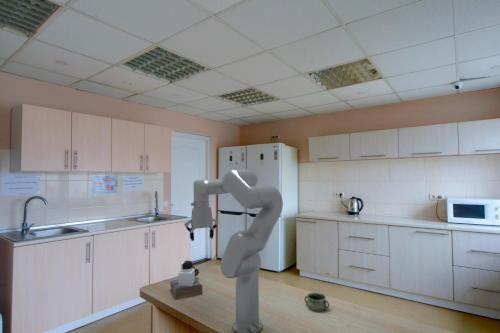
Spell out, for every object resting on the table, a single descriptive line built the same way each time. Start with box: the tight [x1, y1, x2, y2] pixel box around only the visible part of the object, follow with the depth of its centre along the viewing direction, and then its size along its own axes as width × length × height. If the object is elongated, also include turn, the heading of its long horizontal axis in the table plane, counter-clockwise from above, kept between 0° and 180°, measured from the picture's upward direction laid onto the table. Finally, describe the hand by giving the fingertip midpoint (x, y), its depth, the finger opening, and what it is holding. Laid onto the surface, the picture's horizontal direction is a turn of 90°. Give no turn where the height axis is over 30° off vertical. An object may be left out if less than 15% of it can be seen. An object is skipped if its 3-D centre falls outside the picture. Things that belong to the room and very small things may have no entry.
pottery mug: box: [192, 265, 200, 278], centre depth 175 cm, size 12×9×8 cm
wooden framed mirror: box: [170, 277, 203, 300], centre depth 154 cm, size 14×14×5 cm
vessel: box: [304, 292, 330, 313], centre depth 133 cm, size 12×9×6 cm
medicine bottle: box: [177, 260, 196, 286], centre depth 152 cm, size 7×7×12 cm
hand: (202, 239), depth 141 cm, fingers open, 9 cm apart
